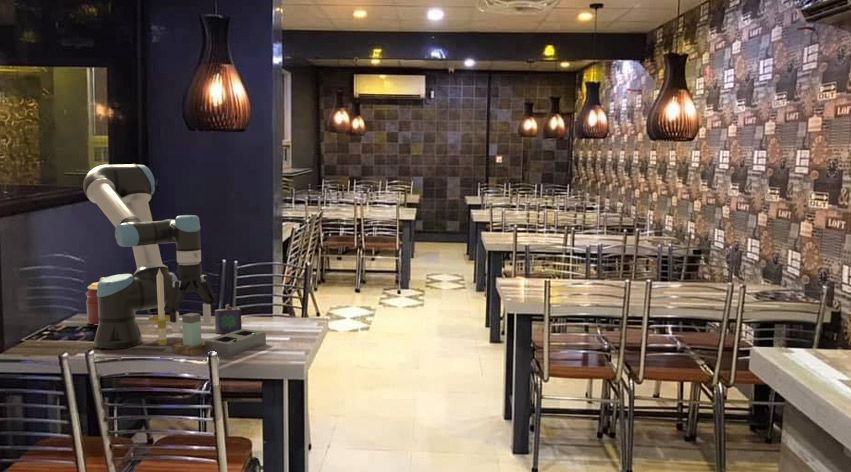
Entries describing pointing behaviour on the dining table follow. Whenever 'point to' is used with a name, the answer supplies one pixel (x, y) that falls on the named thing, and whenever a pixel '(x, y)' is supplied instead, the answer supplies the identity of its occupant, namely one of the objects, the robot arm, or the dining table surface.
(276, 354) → the dining table surface
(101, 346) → the robot arm
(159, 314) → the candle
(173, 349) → the square wooden tray
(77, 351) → the dining table surface
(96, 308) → the canister
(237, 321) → the flask
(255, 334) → the port panel
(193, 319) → the green square bottle
